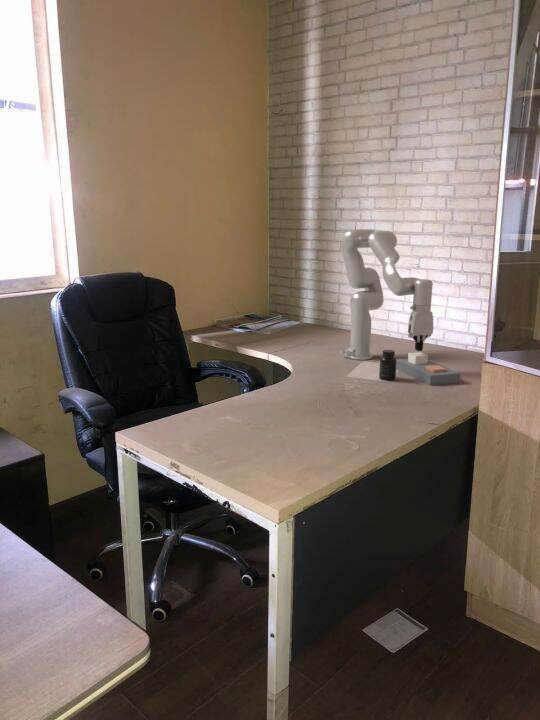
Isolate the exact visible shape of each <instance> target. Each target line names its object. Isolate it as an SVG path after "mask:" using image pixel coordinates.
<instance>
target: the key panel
mask: <svg viewBox="0 0 540 720" xmlns="http://www.w3.org/2000/svg"><path fill="white" fill-rule="evenodd" d="M396 359H397V358H396ZM436 365H438V366H441V367H443V368H446V372H436V373H433V372H430V371H428V370H426V369H425V368H426V366H436ZM396 370H398V371H400V372H402V373H403V374H406V375H408V374H409V375H408V376H410V377H411V378H412V377H413V379H416V380H418V381H421V382H422V383H425V384H426V385H429V386H436V385H448V384H449V383H450V384H459V383H458V382H460V380H461V373H460V372H459V371H457V370H454V369H451V368H449V367H447V366H443V365H441V364H440V363H437V362H434V361H433V360H429V359H428V361H427V364H413V363H410V362H408V358H398V359H397V364H396ZM450 384H449V385H450Z"/></svg>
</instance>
